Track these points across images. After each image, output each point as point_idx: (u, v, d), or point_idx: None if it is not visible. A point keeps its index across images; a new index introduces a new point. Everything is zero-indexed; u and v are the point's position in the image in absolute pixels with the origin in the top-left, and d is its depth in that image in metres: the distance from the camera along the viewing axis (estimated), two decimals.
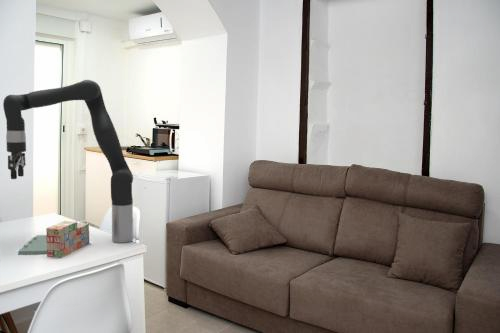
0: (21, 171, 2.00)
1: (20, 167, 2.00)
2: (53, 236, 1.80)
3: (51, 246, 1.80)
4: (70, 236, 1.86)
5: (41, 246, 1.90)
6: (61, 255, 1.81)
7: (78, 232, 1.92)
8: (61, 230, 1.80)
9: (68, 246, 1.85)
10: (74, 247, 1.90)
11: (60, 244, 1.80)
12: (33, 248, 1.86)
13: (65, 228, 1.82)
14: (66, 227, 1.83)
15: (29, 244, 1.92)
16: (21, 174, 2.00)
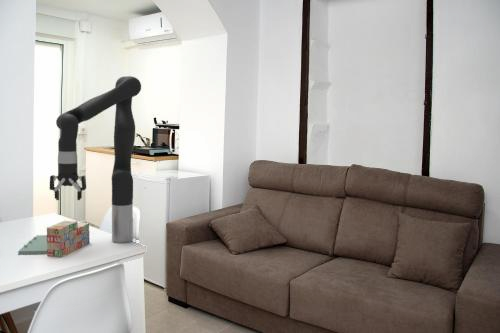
0: (58, 194, 1.88)
1: None
2: (53, 235, 1.80)
3: (51, 245, 1.81)
4: (71, 235, 1.87)
5: (41, 246, 1.90)
6: (61, 255, 1.81)
7: (78, 232, 1.92)
8: (61, 230, 1.80)
9: (68, 245, 1.85)
10: (74, 247, 1.90)
11: (60, 244, 1.80)
12: (33, 248, 1.86)
13: (65, 228, 1.83)
14: (66, 227, 1.84)
15: (29, 244, 1.92)
16: (58, 197, 1.88)
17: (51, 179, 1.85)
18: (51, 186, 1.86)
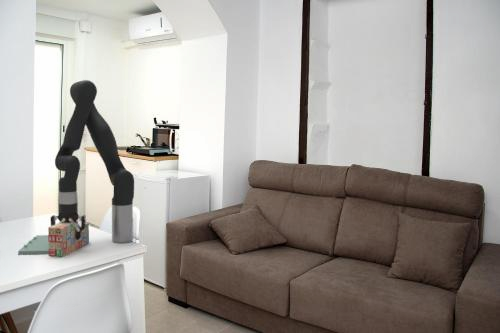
0: None
1: None
2: (55, 235, 1.80)
3: (53, 245, 1.81)
4: (72, 235, 1.87)
5: (41, 246, 1.90)
6: (63, 254, 1.82)
7: None
8: (63, 229, 1.81)
9: (69, 245, 1.86)
10: (75, 246, 1.90)
11: (62, 243, 1.81)
12: (33, 248, 1.86)
13: (67, 227, 1.83)
14: (68, 226, 1.84)
15: (29, 244, 1.92)
16: None
17: (52, 220, 1.87)
18: None
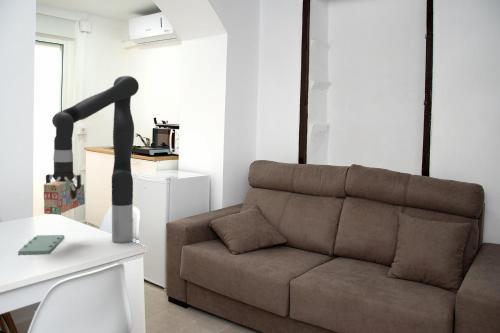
0: None
1: None
2: (51, 192, 1.79)
3: (49, 202, 1.79)
4: (67, 194, 1.86)
5: (41, 246, 1.90)
6: (59, 212, 1.80)
7: None
8: (59, 186, 1.79)
9: (65, 203, 1.84)
10: (71, 206, 1.89)
11: (58, 200, 1.79)
12: (33, 248, 1.86)
13: (62, 185, 1.82)
14: (63, 184, 1.82)
15: (29, 244, 1.92)
16: None
17: (47, 178, 1.86)
18: None
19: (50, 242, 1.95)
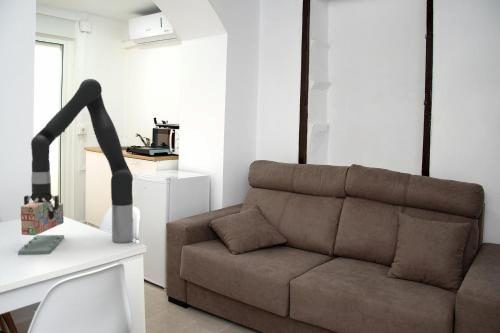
0: None
1: None
2: (28, 214, 1.83)
3: (26, 224, 1.84)
4: (45, 214, 1.90)
5: (41, 246, 1.90)
6: (36, 233, 1.85)
7: None
8: (36, 208, 1.84)
9: (42, 224, 1.89)
10: (48, 226, 1.94)
11: (35, 222, 1.84)
12: (33, 248, 1.86)
13: (39, 206, 1.86)
14: (40, 205, 1.87)
15: (29, 244, 1.92)
16: None
17: (25, 199, 1.91)
18: None
19: (50, 242, 1.95)
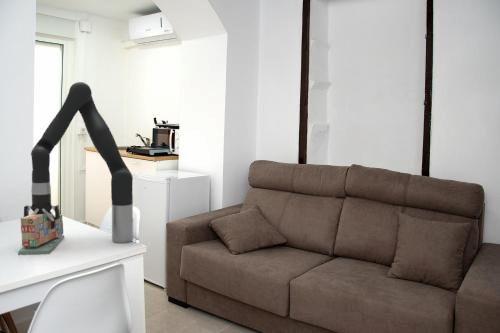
0: None
1: None
2: (28, 225, 1.84)
3: (26, 235, 1.85)
4: (45, 226, 1.91)
5: (41, 246, 1.90)
6: (36, 244, 1.85)
7: None
8: (35, 219, 1.85)
9: (42, 235, 1.90)
10: (49, 237, 1.94)
11: (35, 233, 1.85)
12: (33, 248, 1.86)
13: (39, 218, 1.87)
14: (40, 217, 1.88)
15: None
16: None
17: (25, 209, 1.91)
18: (25, 216, 1.91)
19: (50, 242, 1.95)
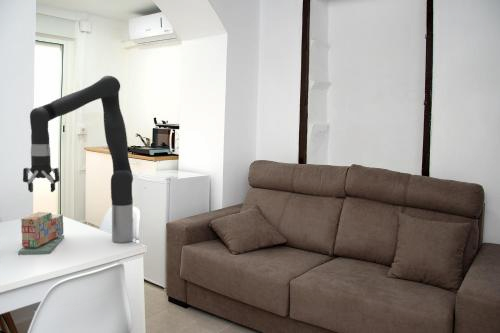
0: (32, 186, 1.92)
1: (31, 182, 1.91)
2: (28, 226, 1.84)
3: (26, 236, 1.85)
4: (45, 226, 1.91)
5: (41, 246, 1.90)
6: (36, 245, 1.85)
7: (52, 223, 1.97)
8: (36, 220, 1.85)
9: (43, 235, 1.89)
10: (49, 237, 1.94)
11: (35, 234, 1.85)
12: (33, 248, 1.86)
13: (40, 218, 1.87)
14: (41, 217, 1.88)
15: None
16: (32, 189, 1.92)
17: (24, 171, 1.89)
18: (24, 178, 1.90)
19: (50, 242, 1.95)
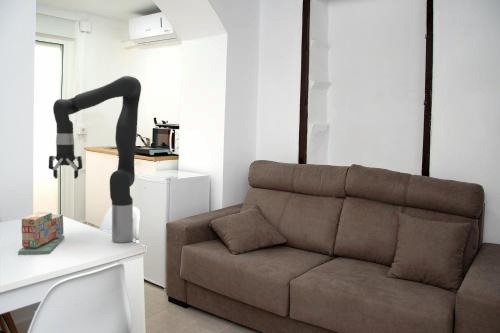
0: (57, 173, 2.05)
1: (56, 169, 2.04)
2: (28, 226, 1.84)
3: (26, 236, 1.85)
4: (45, 226, 1.91)
5: (41, 246, 1.90)
6: (36, 245, 1.85)
7: (53, 223, 1.97)
8: (36, 220, 1.84)
9: (43, 236, 1.89)
10: (49, 237, 1.94)
11: (35, 234, 1.85)
12: (33, 248, 1.86)
13: (40, 218, 1.87)
14: (41, 217, 1.88)
15: None
16: (57, 176, 2.05)
17: (50, 159, 2.02)
18: (50, 165, 2.03)
19: (50, 242, 1.95)
